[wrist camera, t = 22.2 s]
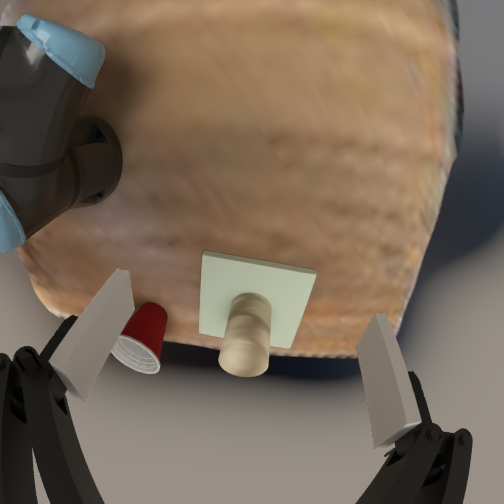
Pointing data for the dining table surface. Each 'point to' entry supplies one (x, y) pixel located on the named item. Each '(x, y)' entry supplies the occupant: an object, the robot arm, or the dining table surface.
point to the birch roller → (247, 336)
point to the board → (256, 281)
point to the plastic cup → (142, 339)
